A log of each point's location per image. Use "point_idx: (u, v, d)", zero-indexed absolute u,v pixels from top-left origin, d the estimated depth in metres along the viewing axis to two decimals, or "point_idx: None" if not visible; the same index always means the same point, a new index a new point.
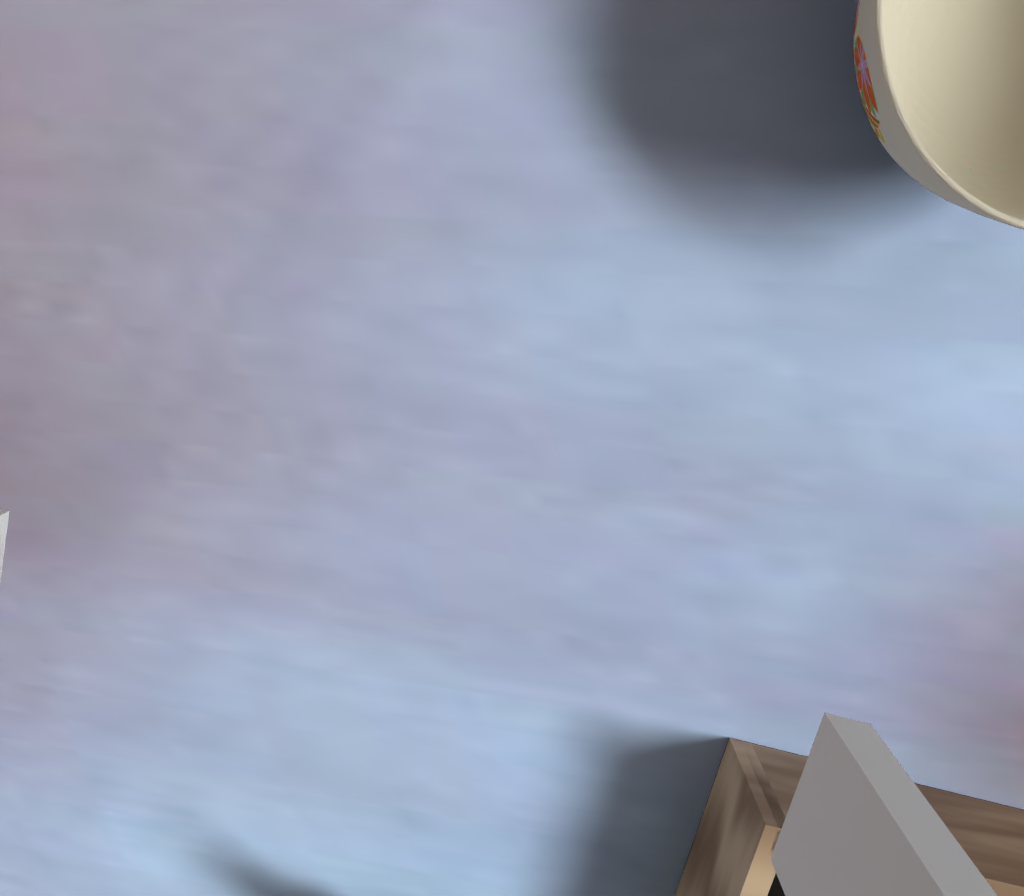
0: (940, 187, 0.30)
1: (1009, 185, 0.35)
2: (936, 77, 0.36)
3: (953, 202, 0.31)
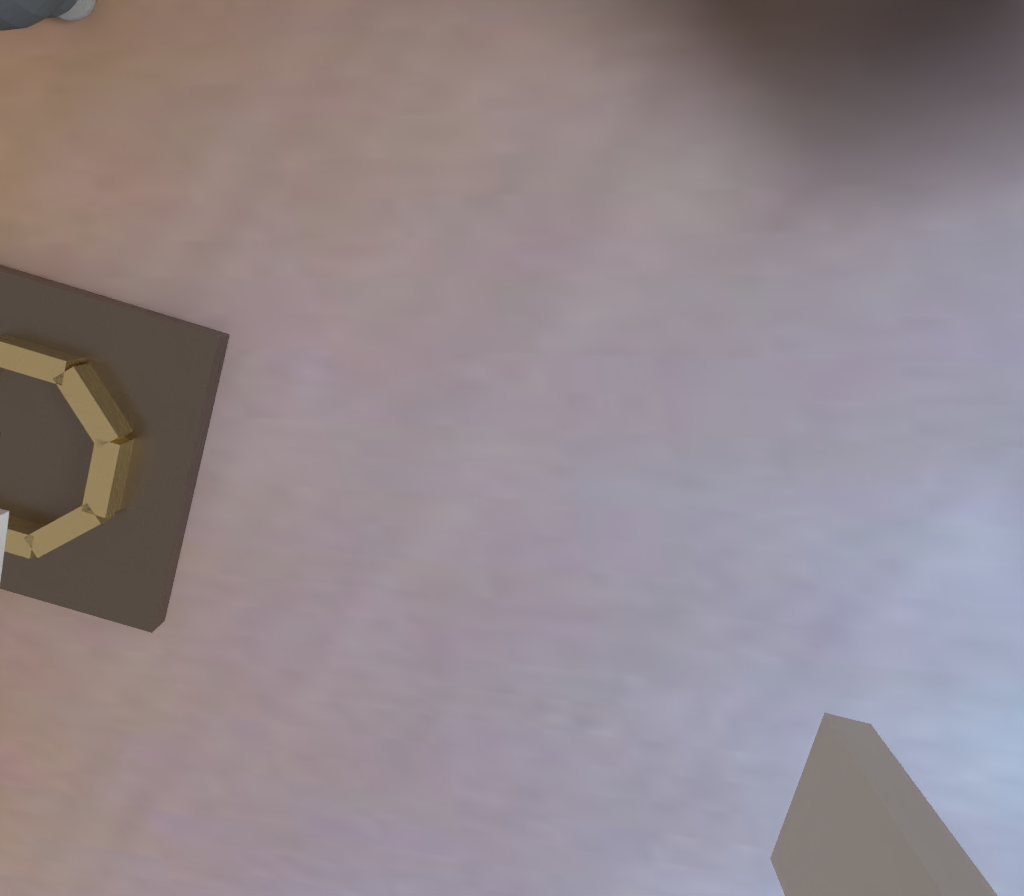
0: None
1: None
2: None
3: None
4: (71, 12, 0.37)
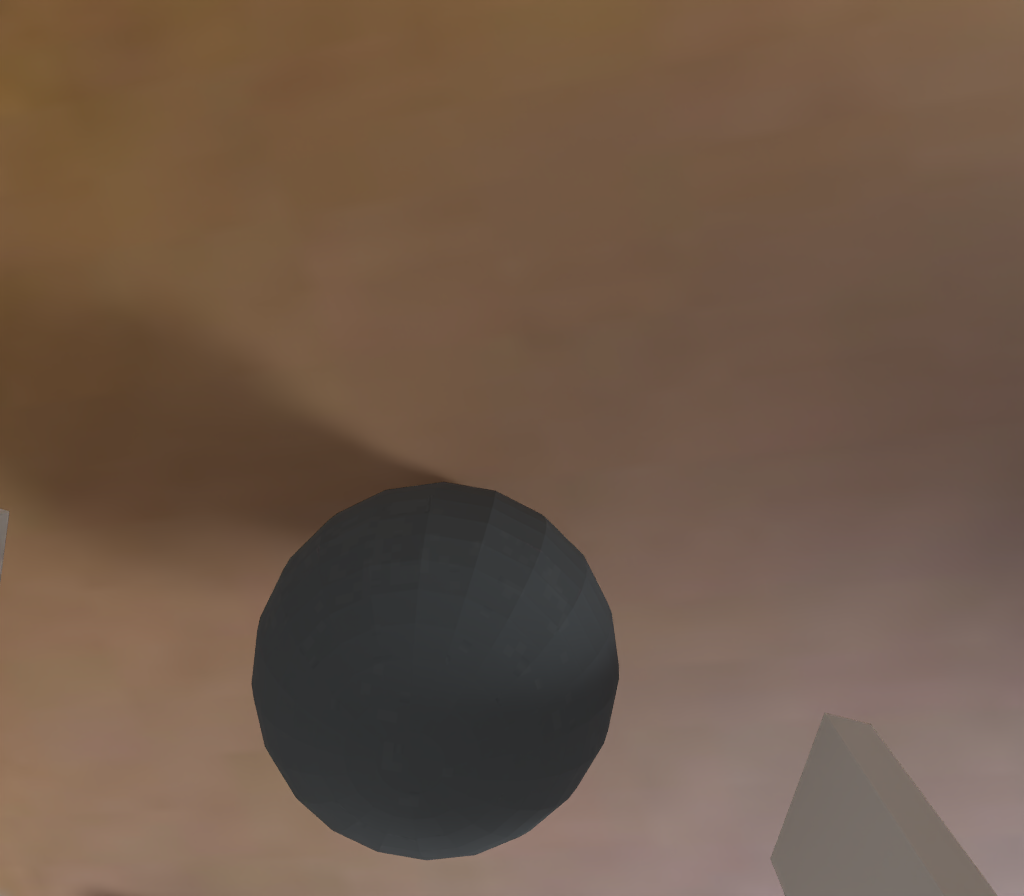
0: None
1: None
2: None
3: None
4: None
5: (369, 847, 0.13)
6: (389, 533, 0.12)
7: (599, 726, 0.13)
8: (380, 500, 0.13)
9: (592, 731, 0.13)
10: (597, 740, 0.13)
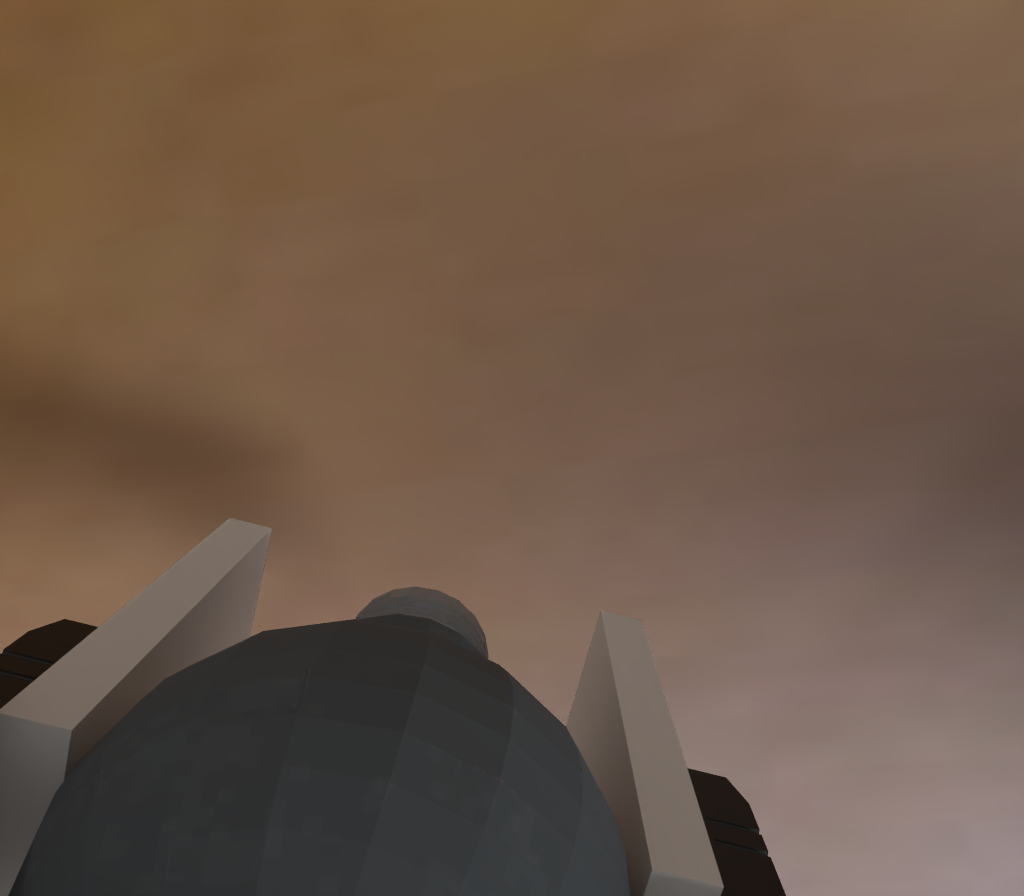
0: None
1: None
2: None
3: None
4: None
5: None
6: (219, 759, 0.07)
7: None
8: (223, 673, 0.08)
9: None
10: None
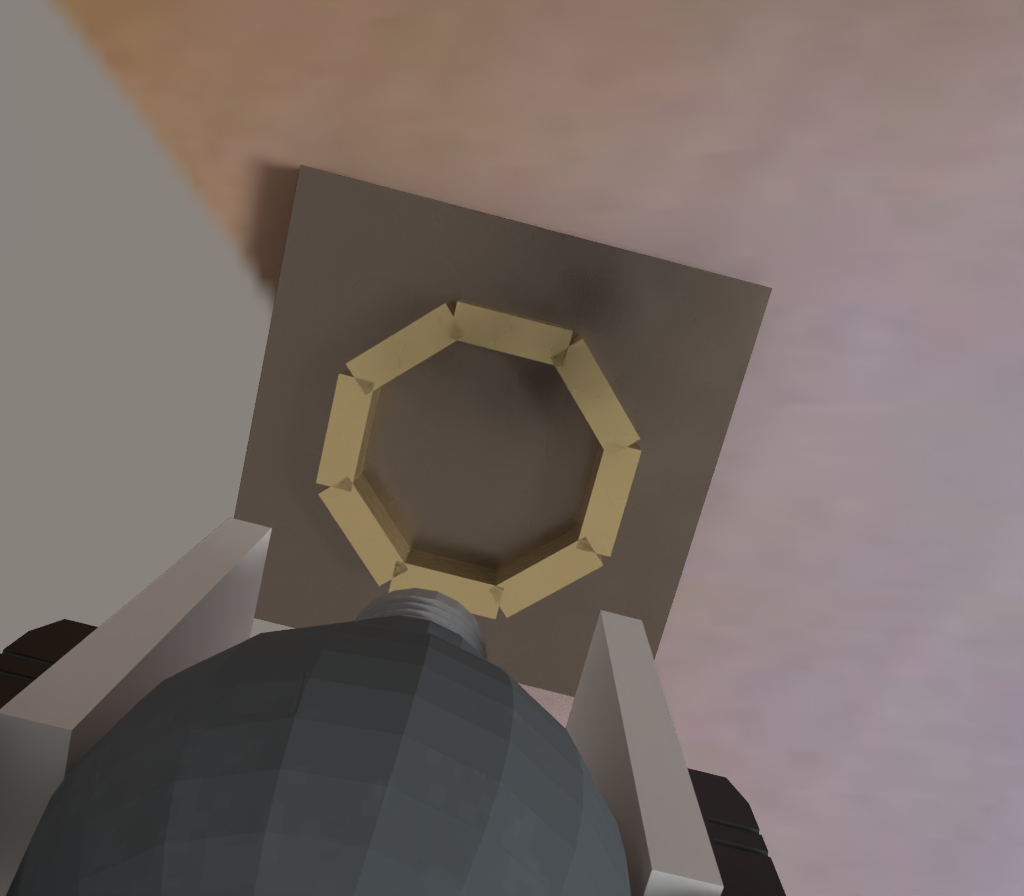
0: None
1: None
2: None
3: None
4: None
5: None
6: (217, 764, 0.07)
7: None
8: (220, 676, 0.08)
9: None
10: None
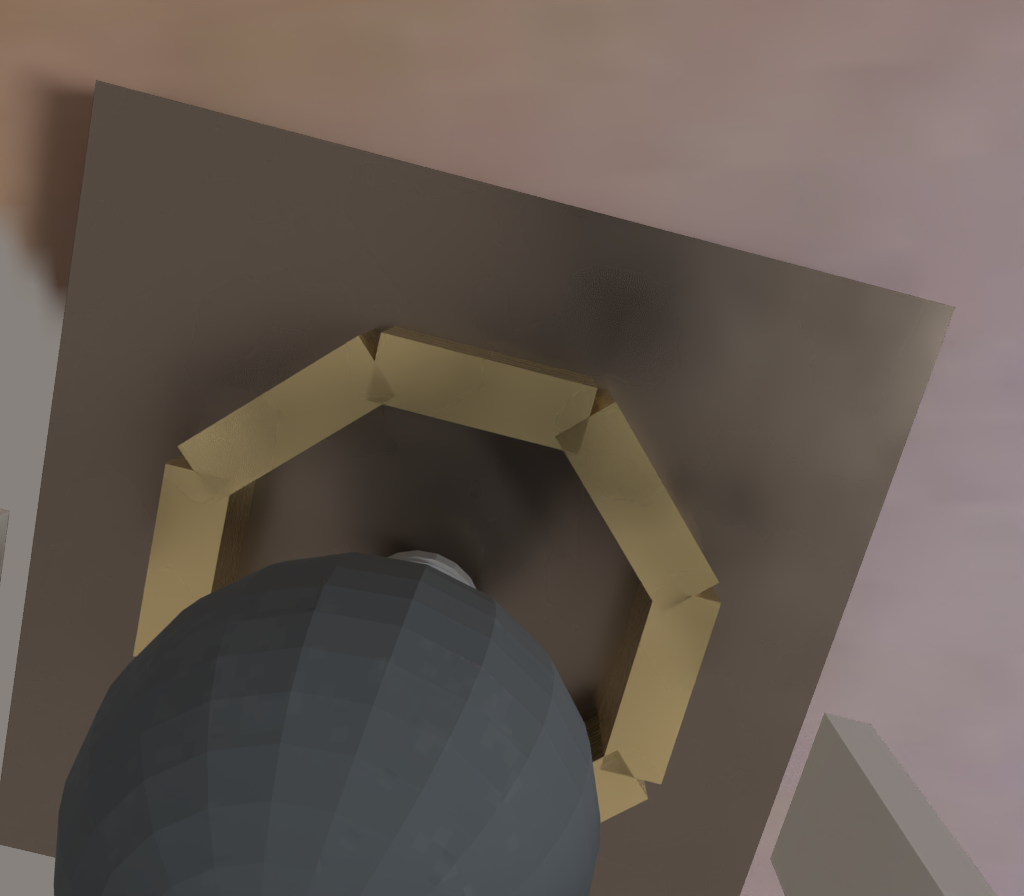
0: None
1: None
2: None
3: None
4: None
5: None
6: (250, 644, 0.08)
7: None
8: (251, 585, 0.09)
9: None
10: None
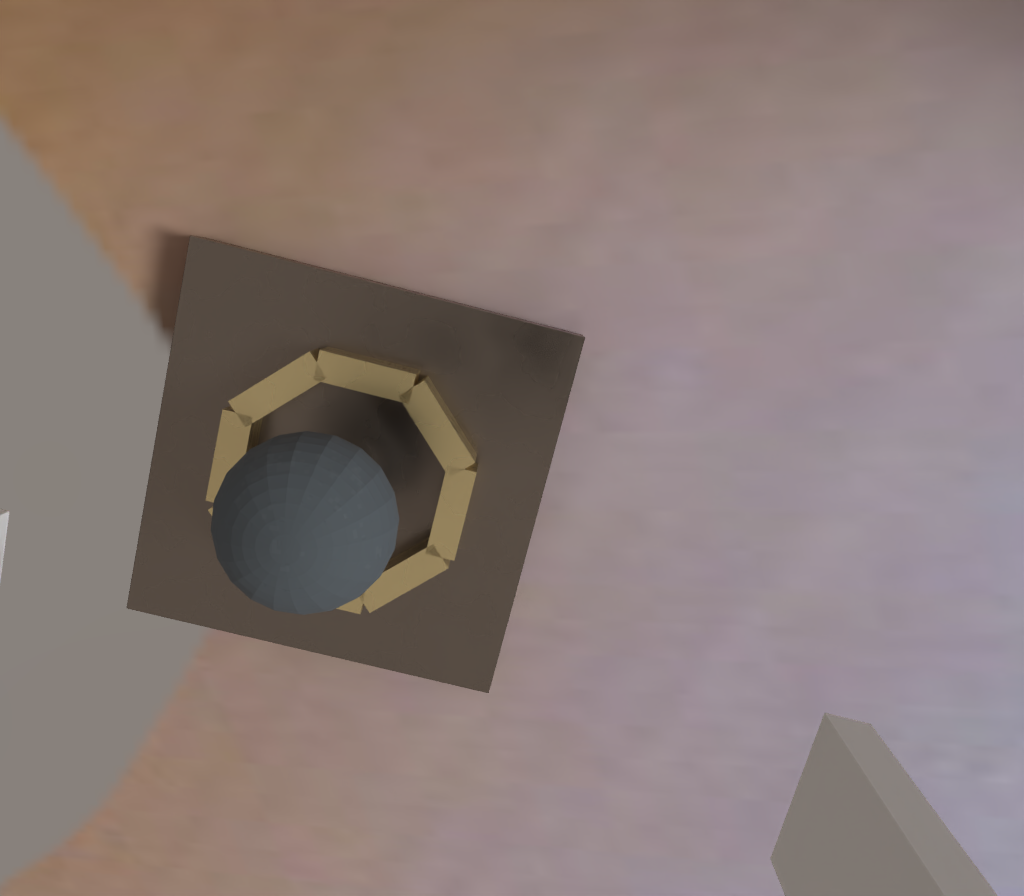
0: None
1: None
2: None
3: None
4: None
5: (269, 604, 0.26)
6: (277, 450, 0.26)
7: (381, 543, 0.27)
8: (275, 438, 0.27)
9: (376, 545, 0.26)
10: (381, 551, 0.27)
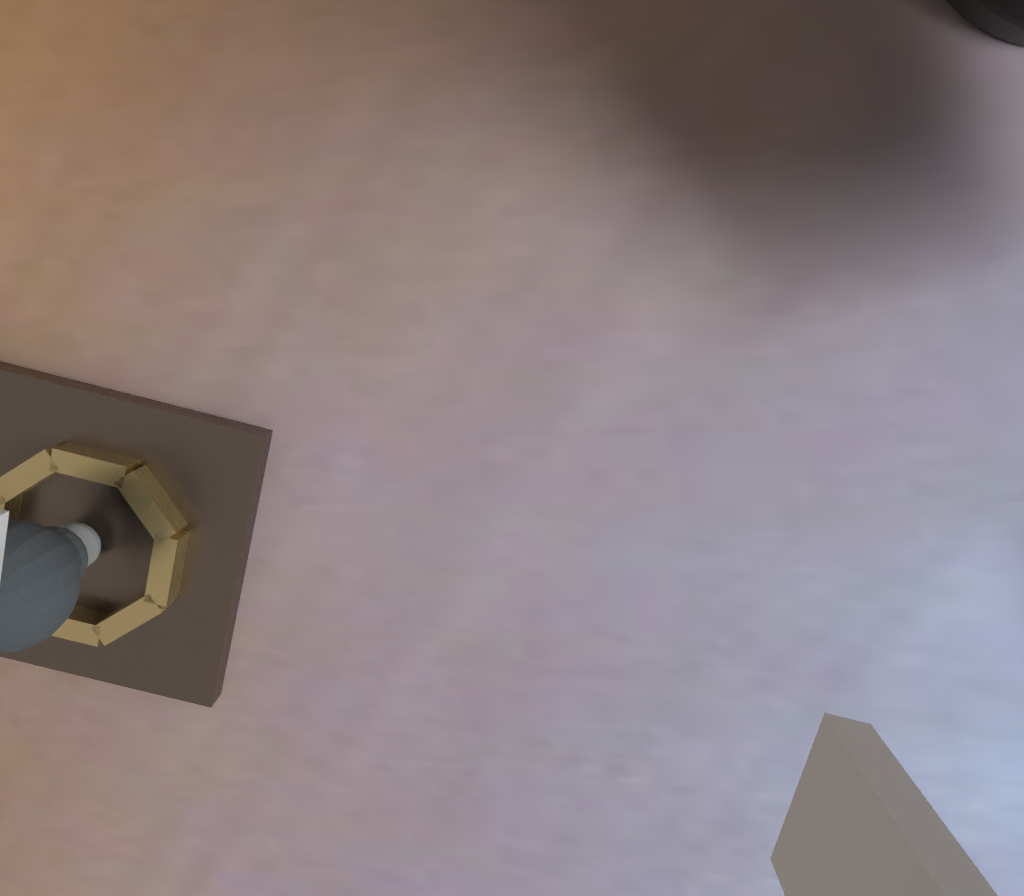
0: None
1: None
2: None
3: None
4: None
5: None
6: None
7: (45, 604, 0.37)
8: None
9: (40, 605, 0.36)
10: (46, 609, 0.37)
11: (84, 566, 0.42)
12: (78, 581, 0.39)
